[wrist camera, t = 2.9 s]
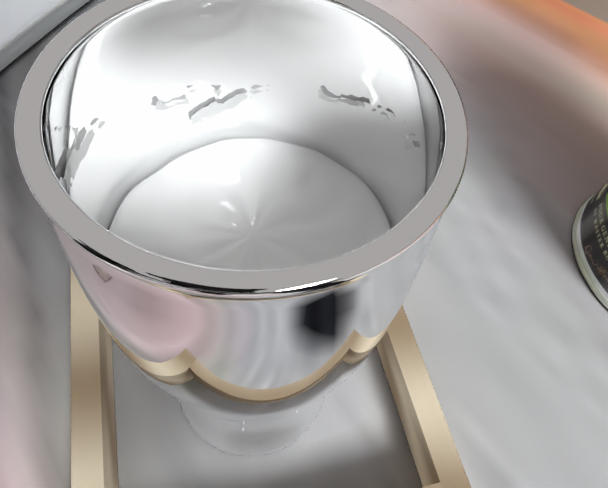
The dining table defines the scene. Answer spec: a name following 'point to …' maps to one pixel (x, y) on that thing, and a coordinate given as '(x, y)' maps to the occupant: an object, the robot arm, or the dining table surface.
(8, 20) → the salad plate
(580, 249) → the coffee can
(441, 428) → the beech frame
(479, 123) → the dining table surface
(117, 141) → the steel cup
